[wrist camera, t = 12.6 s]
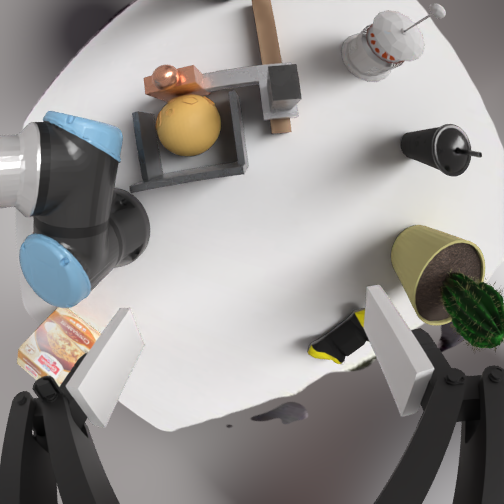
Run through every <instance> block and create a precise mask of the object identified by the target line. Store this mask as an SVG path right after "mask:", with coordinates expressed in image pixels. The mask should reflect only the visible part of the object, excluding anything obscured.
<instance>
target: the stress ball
mask: <svg viewBox="0 0 504 504" xmlns="http://www.w3.org/2000/svg"><path fill="white" fill-rule="evenodd" d="M214 105H215V103H214V102H213V101H211V100H210V99H208V98H207V97H206V96H204V97H202V96H199V95H193V94H188V95H182V96H178V97H174V98H172V99H171V100H169V101H168V102H167V104H166V105H165V106H164V107H163V109H162V110H161V111H160V112H159V114H158V116H157V120H156V130H157V134H158V137H159V139H160V141H161V143H162V144H163V146H164V147H165V148H166V149H167V150H169V151H170V152H172V153H174V154H176V155H180V156H195V155H198V154H201V153H203V152H205V151H206V150H208V149H209V148H210V147H211V146H212V145H213V144H214V143H215V141H216V140H217V138H218V136H219V133H220V129H221V119H220V115H219V112H218V110H217V108H216V107H215V106H214Z"/></svg>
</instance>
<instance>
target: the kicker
mask: <svg viewBox="0 0 504 504" xmlns="http://www.w3.org/2000/svg"><path fill="white" fill-rule="evenodd" d="M144 85H145V94H146V95H149V96H152V97H155V98H158V99H161V100H163V101H166V102H168V101H169V100H171V99H172V98H174V97H178V96H182V95H188V94H193V95H199V96H204V95H210V92H212V91H217V90H223V89H230V88H236V87H244V86H251V85H259V88H260V95H261V102H262V109H263V116H264V121H265V120H275V119H286V118H296V117H298V116H299V115H298V108H297V103H298V102H299V101H300V100H301V92H300V85H299V78H298V72H297V65H296V64H292V65H291V63H278V64H267V65H257V66H249V67H241V68H234V69H228V70H222V71H216V72H210V73H205V74H202V73H201V72H200V71H199V70H198V69H197V68H196V67H195V66H194V65H192V66H187V67H183V68H179V69H176V68H175V67H173V66H171V65H162V66H159V67H158V68H156V69H155V71H154V72H153V74H152V76H149V77H145V78H144Z"/></svg>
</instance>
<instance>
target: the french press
mask: <svg viewBox="0 0 504 504" xmlns="http://www.w3.org/2000/svg"><path fill="white" fill-rule="evenodd" d="M429 9H430V12H431V14H429V15H428V16H426V17H425V18H423V19H421V20H420V21H418V22H417V23H414V22H413V21H412V20H411V19H410V18H409V17H407V16H405V15H403V14H401V13H399V12H396V11H389V10H388V11H384V12H380V13H379V14H378V15H377V16H376V17H375V18H374V22H373V24H371V25H369V26H367V27H365V28H367V30H366V29H365V28H364V29H363V31H361V33H359V34H355V35H352V36H349V37H348V38H347V39H346V40H345V42H344V43H343V46H342V50H341V53H342V58H343V62H344V63H345V65H346V66H347V68H348V70H349V71H350V72H352V73H353V74H354V75H355V76H356V77H358V78H360V79H363V80H365V81H369V82H378V81H380V80H383V79H385V78H386V77H387V76H388V75H389V73H390V72H391V70H392V69H394V68H396V67H398V65H399V64H400V63H401V62H402V63H403V62H404V61H413V60H416V59H419V57H420V56H421V55H422V54H423V52H424V46H425V43H424V38H423V34H422V32H421V31H420V29H419V28H418V26H417V24H419V23H420V22H422V21H423V20H425V19H427V18H428V17H430V16H432V15H434V16H435V17H436V18H438V19H440V18H443V17H444V16H445V15H446V11H445V9H444V8H443V7H442V6H440V5H439V4H431V5H430V7H429ZM368 27H369V28H368ZM364 30H365V31H367V32H365V31H364ZM363 33H367V34H363ZM398 63H399V64H398ZM402 63H401V64H402ZM392 64H393V66H392ZM394 64H395V66H396V65H397V64H398V65H397V66H396V67H395V66H394ZM401 64H400V65H401ZM400 65H399V66H400Z"/></svg>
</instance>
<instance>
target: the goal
mask: <svg viewBox="0 0 504 504" xmlns="http://www.w3.org/2000/svg"><path fill="white" fill-rule="evenodd" d="M228 93H229V100H230V108H231V115H232V122H233V129H234V136H235V144H236V151H237V158H238V162H232V163H225V164H218V165H212V166H205V167H199V168H193V169H187V170H182V171H176V172H171V173H166V174H163V171H162V165H161V159H160V153H159V146H158V140H157V133H156V126H155V119H154V114H149V113H144V112H134V113H132V115H133V123H134V130H135V137H136V143H137V150H138V156H139V162H140V168H141V173H142V179H143V181H141V182H139V183H136V184H134V185H131V186H130V191H131V193H133V192H138V191H143V190H148V189H154V188H159V187H164V186H170V185H175V184H181V183H187V182H193V181H199V180H206V179H212V178H219V177H226V176H233V175H241V174H244V173H245V172H246V170H247V168H248V158H247V151H246V144H245V136H244V129H243V122H242V114H241V107H240V100H239V96H238V95H237V93H236V91H229V92H228Z"/></svg>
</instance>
